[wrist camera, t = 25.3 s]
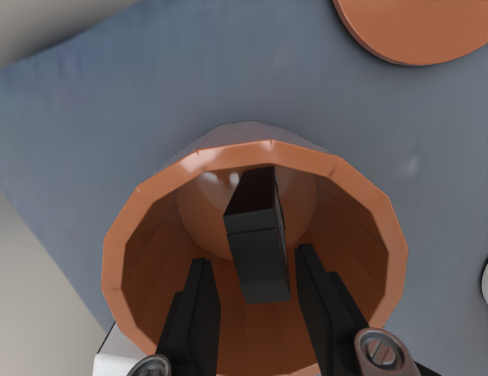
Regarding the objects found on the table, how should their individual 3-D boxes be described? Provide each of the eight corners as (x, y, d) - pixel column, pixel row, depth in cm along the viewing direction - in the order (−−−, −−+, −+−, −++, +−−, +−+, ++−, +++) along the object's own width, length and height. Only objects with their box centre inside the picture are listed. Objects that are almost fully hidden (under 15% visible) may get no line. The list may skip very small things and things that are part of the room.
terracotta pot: (322, 109, 16) (427, 116, 7) (325, 255, 20) (393, 372, 12) (150, 135, 16) (47, 170, 8) (188, 273, 21) (151, 401, 12)
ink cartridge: (285, 224, 18) (294, 307, 11) (257, 228, 18) (246, 310, 11) (274, 164, 17) (276, 210, 9) (244, 170, 17) (221, 218, 10)
